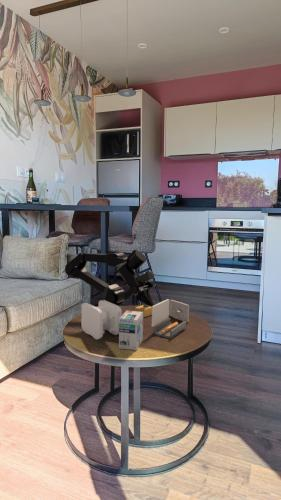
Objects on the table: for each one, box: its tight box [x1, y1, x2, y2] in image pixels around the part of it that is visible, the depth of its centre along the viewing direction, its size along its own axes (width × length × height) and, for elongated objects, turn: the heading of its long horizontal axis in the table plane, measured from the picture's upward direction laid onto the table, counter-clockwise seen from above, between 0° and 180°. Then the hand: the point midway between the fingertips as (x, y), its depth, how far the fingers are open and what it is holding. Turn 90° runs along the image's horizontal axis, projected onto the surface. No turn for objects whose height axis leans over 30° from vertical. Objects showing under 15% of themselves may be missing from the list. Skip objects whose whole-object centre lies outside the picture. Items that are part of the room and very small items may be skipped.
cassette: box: [169, 299, 190, 323], centre depth 150 cm, size 12×2×8 cm, turn 37°
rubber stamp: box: [134, 303, 155, 318], centre depth 155 cm, size 10×6×12 cm, turn 139°
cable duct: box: [152, 317, 187, 340], centre depth 133 cm, size 8×14×3 cm, turn 150°
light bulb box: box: [118, 310, 144, 351], centre depth 118 cm, size 11×7×11 cm, turn 168°
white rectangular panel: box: [150, 298, 170, 327], centre depth 134 cm, size 8×14×1 cm
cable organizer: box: [81, 299, 123, 341], centre depth 128 cm, size 15×11×12 cm
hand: (152, 306), depth 136 cm, fingers closed
